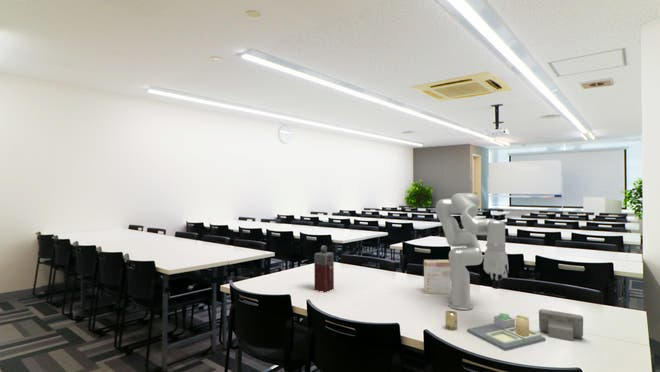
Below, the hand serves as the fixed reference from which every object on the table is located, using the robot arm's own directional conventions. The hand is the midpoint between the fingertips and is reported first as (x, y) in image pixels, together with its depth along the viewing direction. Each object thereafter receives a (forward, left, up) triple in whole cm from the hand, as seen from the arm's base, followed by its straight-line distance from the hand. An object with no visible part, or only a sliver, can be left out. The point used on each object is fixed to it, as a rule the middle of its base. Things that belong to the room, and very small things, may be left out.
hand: (496, 288), depth 159 cm
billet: (-9, -18, -18) cm, 27 cm away
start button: (+2, +3, -16) cm, 17 cm away
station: (+7, -3, -18) cm, 20 cm away
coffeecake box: (-56, +13, -19) cm, 60 cm away
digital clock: (+16, +19, -19) cm, 31 cm away
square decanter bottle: (-88, -48, -19) cm, 102 cm away
